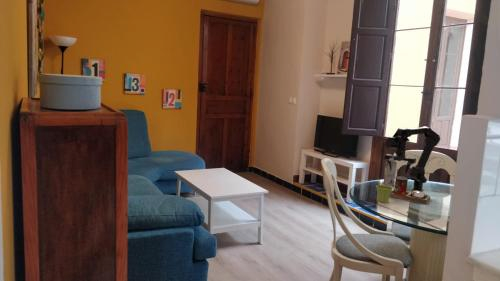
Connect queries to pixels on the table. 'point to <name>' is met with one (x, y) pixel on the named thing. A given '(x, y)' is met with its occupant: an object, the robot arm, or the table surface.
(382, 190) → the plant pot
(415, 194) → the tin
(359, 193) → the table surface
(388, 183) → the coffee box
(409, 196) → the rack
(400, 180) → the soda can
